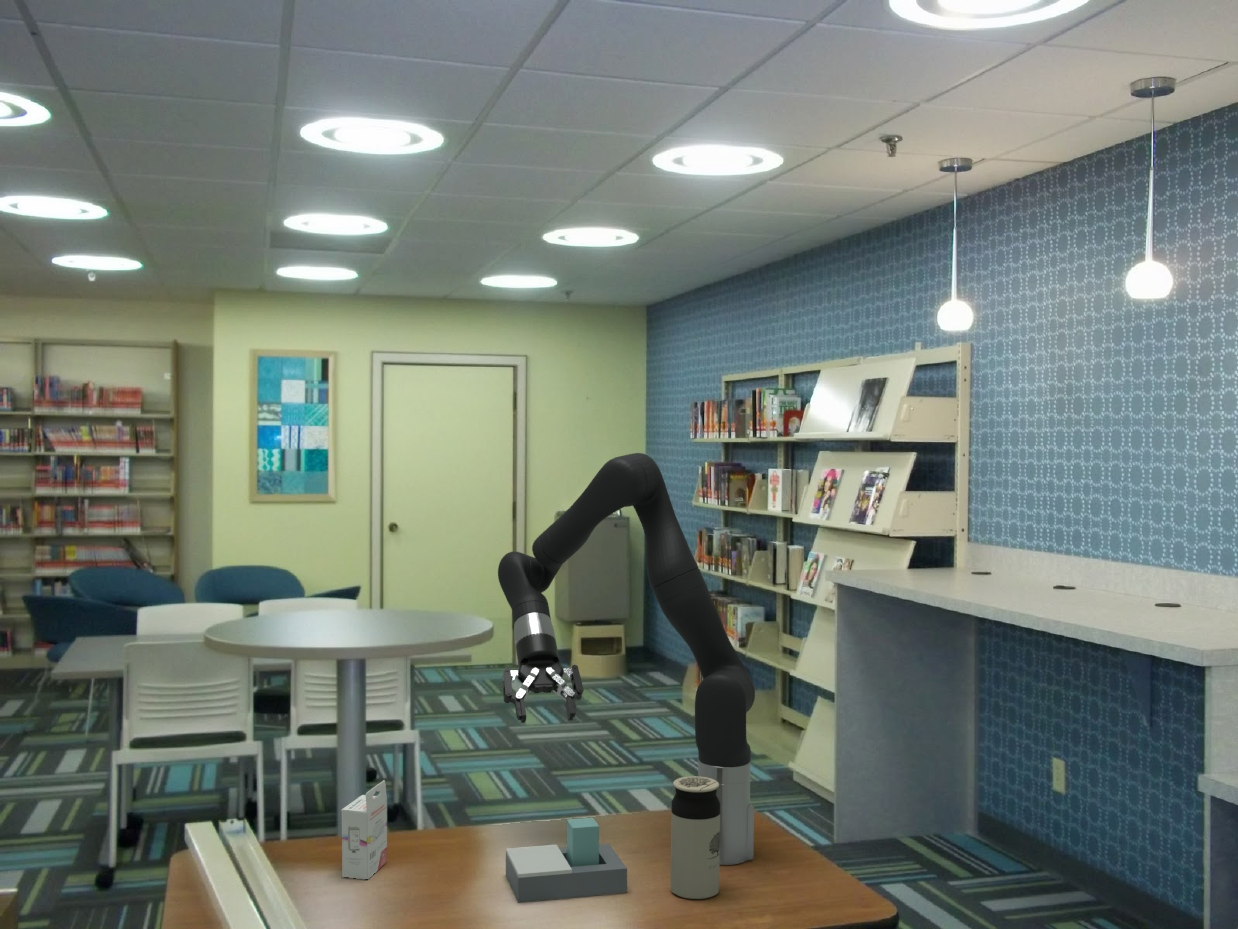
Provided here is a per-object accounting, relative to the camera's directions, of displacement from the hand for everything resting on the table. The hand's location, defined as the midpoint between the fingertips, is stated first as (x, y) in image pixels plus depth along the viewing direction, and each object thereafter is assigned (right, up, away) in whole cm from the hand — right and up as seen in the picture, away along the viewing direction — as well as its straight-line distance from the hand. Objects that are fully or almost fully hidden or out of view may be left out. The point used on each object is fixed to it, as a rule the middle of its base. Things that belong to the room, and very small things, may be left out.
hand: (547, 719), depth 213 cm
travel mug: (+25, -25, -15) cm, 39 cm away
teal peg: (+6, -25, -11) cm, 28 cm away
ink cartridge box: (-31, -24, -7) cm, 40 cm away
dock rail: (+4, -25, -12) cm, 28 cm away
